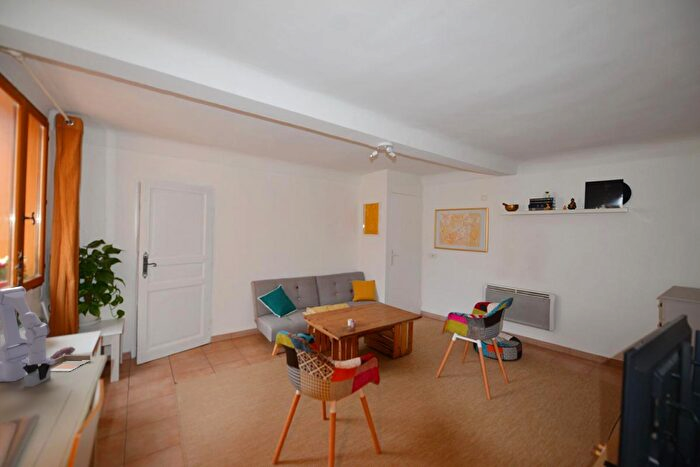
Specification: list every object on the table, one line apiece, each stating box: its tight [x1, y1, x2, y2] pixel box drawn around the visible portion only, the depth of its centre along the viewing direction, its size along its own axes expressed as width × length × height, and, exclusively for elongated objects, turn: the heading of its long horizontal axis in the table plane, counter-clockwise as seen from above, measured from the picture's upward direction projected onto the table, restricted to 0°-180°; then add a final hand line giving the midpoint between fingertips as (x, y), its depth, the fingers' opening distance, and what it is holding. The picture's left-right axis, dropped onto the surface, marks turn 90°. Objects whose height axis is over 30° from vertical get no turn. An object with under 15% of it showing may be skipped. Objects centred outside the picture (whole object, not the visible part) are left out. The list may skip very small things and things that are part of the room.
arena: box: [50, 354, 91, 373], centre depth 158 cm, size 14×12×4 cm
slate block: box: [23, 368, 52, 388], centre depth 142 cm, size 4×8×5 cm, turn 1°
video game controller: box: [49, 346, 76, 359], centre depth 167 cm, size 10×5×7 cm, turn 169°
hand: (38, 379), depth 142 cm, fingers closed on slate block, 4 cm apart
